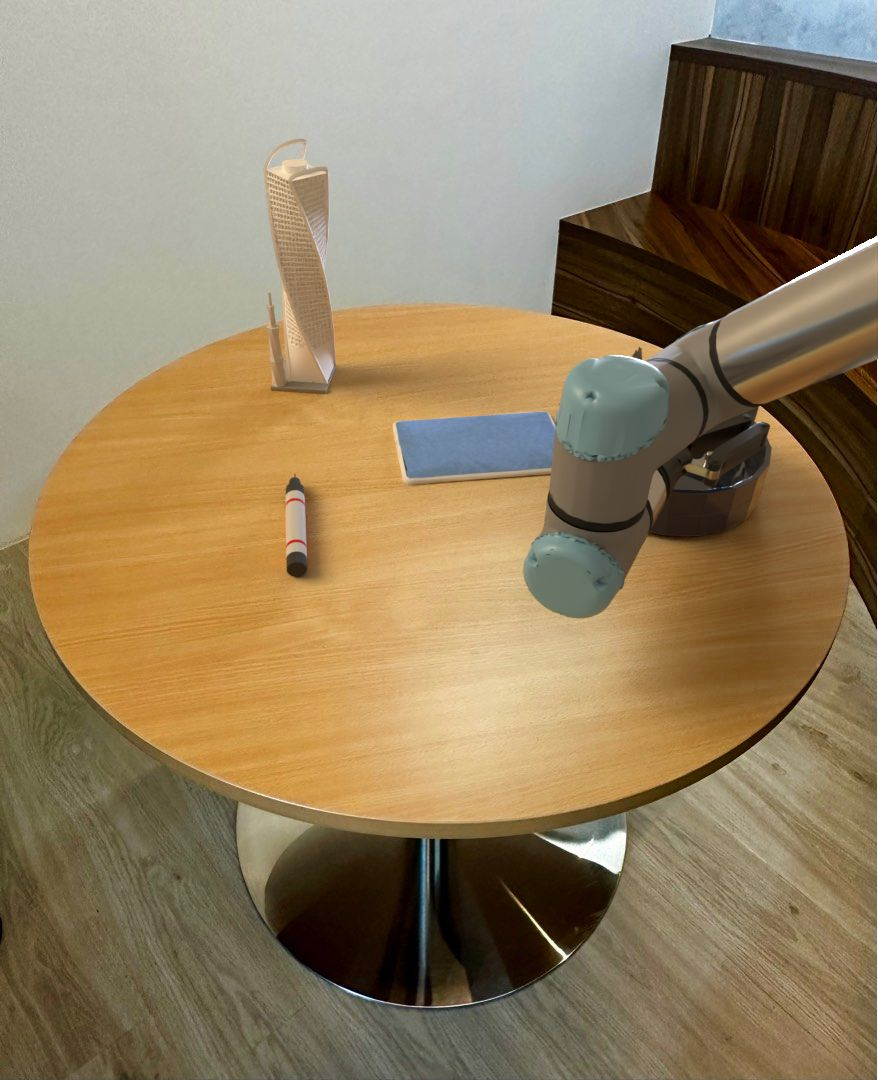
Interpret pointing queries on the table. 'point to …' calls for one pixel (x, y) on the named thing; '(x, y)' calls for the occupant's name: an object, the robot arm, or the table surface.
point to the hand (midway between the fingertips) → (692, 377)
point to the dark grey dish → (714, 499)
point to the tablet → (474, 447)
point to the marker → (295, 528)
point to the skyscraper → (300, 274)
